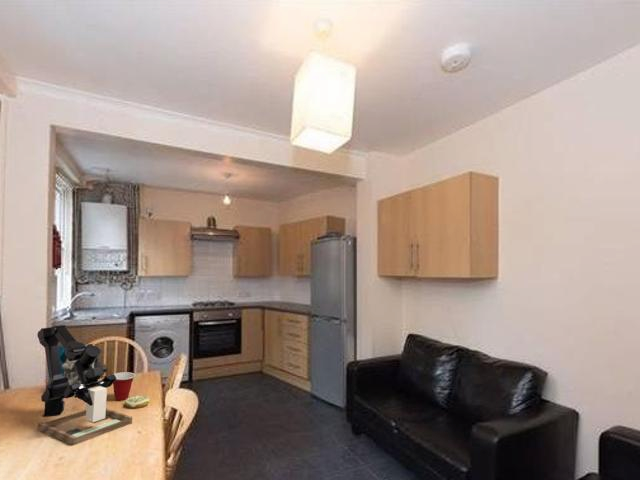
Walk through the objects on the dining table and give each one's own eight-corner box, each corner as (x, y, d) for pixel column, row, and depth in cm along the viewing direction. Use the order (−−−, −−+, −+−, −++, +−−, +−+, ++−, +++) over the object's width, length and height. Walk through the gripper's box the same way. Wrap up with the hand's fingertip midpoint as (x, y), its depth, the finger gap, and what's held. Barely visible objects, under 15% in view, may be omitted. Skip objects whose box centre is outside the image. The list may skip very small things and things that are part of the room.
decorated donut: (132, 411, 170) (132, 403, 170) (120, 406, 176) (120, 398, 177) (153, 404, 179) (153, 396, 179) (141, 400, 185) (141, 392, 185)
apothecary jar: (86, 387, 202) (89, 354, 204) (87, 393, 192) (90, 358, 194) (59, 391, 195) (62, 356, 197) (59, 397, 185) (62, 361, 187)
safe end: (64, 438, 142) (64, 437, 142) (116, 419, 160) (116, 419, 160) (75, 443, 138) (75, 442, 138) (127, 423, 156) (127, 422, 156)
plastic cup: (119, 404, 178) (120, 379, 179) (104, 400, 182) (106, 376, 183) (138, 397, 187) (140, 373, 188) (124, 394, 192) (125, 370, 193)
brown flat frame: (37, 429, 149) (38, 423, 149) (96, 410, 169) (97, 405, 170) (73, 445, 136) (73, 438, 136) (132, 423, 157) (132, 416, 157)
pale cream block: (85, 419, 149) (87, 389, 150) (98, 415, 154) (99, 386, 155) (92, 422, 147) (94, 391, 148) (105, 418, 151) (107, 388, 152)
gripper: (69, 364, 146) (83, 397, 140) (115, 355, 162) (129, 384, 156) (57, 381, 149) (70, 415, 143) (103, 371, 165) (117, 400, 159)
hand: (98, 403), depth 150 cm, fingers closed on pale cream block, 5 cm apart
